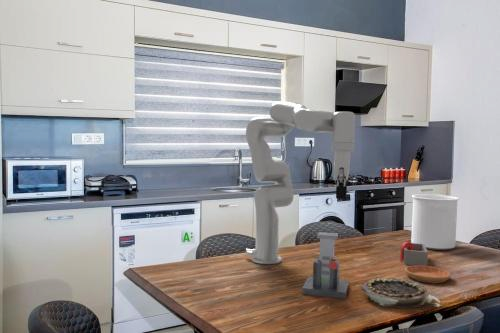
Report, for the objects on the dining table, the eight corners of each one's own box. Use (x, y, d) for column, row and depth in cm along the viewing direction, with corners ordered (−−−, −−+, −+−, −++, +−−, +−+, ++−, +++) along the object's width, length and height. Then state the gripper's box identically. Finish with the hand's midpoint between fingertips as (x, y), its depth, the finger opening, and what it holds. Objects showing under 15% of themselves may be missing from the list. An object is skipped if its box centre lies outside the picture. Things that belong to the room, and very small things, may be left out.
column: (315, 285, 156) (317, 234, 155) (317, 281, 161) (318, 232, 160) (334, 287, 154) (336, 236, 153) (336, 282, 159) (337, 233, 158)
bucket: (466, 252, 216) (469, 200, 215) (419, 251, 217) (422, 199, 215) (444, 240, 242) (446, 194, 241) (402, 239, 242) (404, 193, 241)
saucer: (448, 275, 180) (449, 267, 180) (452, 287, 165) (452, 279, 164) (405, 270, 185) (405, 263, 185) (404, 282, 170) (405, 274, 170)
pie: (459, 311, 142) (459, 295, 141) (380, 320, 134) (381, 303, 134) (403, 283, 168) (404, 270, 168) (335, 289, 161) (336, 275, 160)
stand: (302, 293, 153) (303, 260, 153) (308, 281, 167) (309, 250, 166) (345, 298, 150) (346, 264, 149) (348, 285, 163) (349, 254, 162)
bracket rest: (404, 264, 193) (404, 250, 193) (402, 255, 208) (402, 242, 208) (427, 266, 191) (427, 252, 190) (423, 257, 206) (424, 243, 206)
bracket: (408, 263, 195) (409, 244, 194) (400, 260, 198) (401, 242, 198) (427, 260, 201) (428, 242, 200) (418, 257, 205) (420, 240, 204)
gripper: (333, 147, 170) (331, 193, 171) (330, 147, 153) (328, 199, 154) (354, 147, 168) (352, 194, 169) (353, 148, 151) (351, 200, 152)
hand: (341, 196), depth 161 cm, fingers open, 9 cm apart
